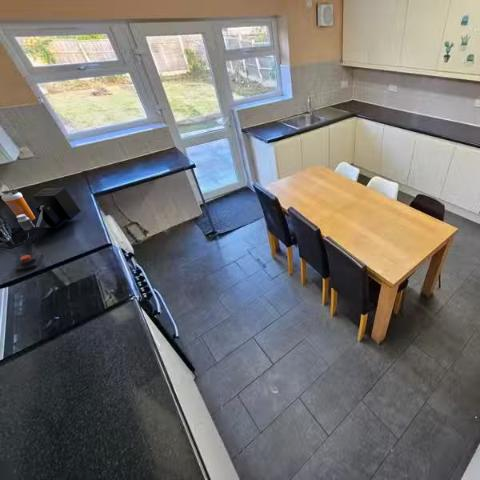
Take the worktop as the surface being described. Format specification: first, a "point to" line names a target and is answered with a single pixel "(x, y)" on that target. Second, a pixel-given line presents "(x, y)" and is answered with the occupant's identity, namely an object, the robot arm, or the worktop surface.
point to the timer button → (25, 258)
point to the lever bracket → (50, 217)
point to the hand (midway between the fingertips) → (12, 246)
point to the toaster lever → (39, 220)
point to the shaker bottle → (17, 203)
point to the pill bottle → (25, 222)
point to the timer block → (30, 262)
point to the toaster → (58, 202)
